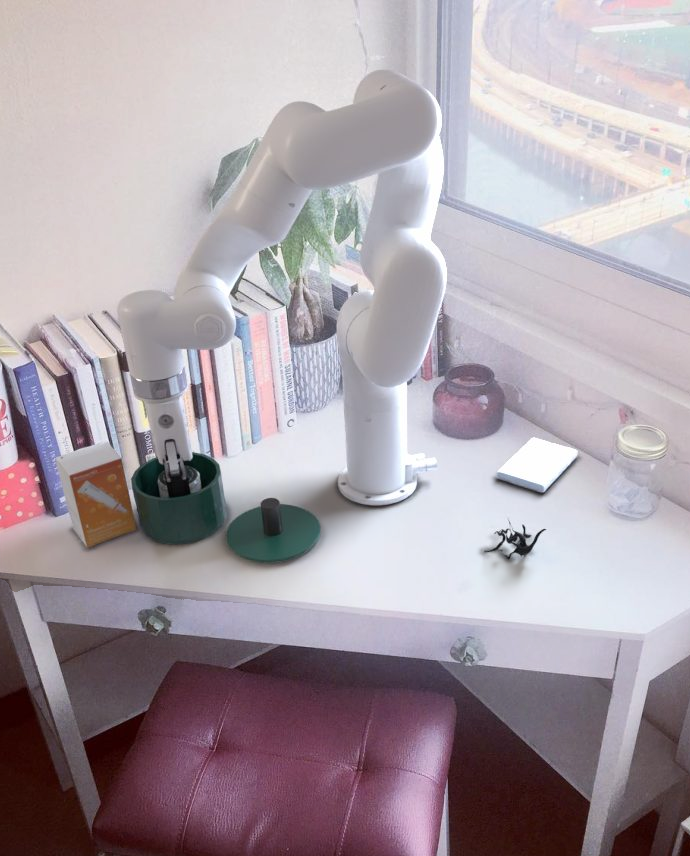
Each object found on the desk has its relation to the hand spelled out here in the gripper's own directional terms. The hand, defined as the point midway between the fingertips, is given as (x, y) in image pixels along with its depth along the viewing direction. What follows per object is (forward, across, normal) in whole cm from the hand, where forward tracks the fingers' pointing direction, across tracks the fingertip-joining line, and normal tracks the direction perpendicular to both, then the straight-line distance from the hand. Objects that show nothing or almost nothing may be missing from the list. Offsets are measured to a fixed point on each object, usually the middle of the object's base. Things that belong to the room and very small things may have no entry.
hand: (178, 486), depth 136 cm
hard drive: (+6, -2, -57) cm, 57 cm away
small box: (+6, 0, +12) cm, 13 cm away
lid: (+5, -9, -13) cm, 16 cm away
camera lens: (+5, 0, 0) cm, 5 cm away
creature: (+6, -22, -45) cm, 50 cm away
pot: (+6, 0, 0) cm, 6 cm away
